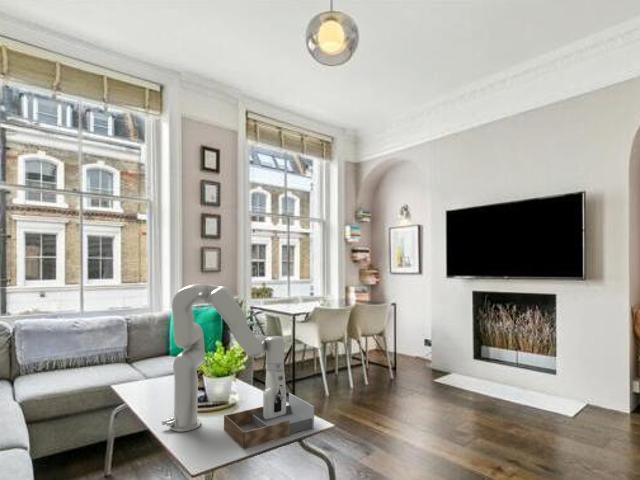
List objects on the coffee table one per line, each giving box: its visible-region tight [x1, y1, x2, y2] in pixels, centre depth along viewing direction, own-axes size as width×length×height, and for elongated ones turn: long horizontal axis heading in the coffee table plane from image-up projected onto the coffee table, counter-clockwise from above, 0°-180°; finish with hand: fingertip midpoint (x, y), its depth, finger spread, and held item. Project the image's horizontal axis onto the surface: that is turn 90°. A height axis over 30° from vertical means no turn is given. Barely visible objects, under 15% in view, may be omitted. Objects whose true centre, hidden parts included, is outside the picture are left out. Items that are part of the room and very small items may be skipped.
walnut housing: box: [223, 406, 291, 450], centre depth 166 cm, size 20×20×6 cm
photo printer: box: [262, 388, 287, 419], centre depth 171 cm, size 10×4×12 cm, turn 129°
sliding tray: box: [250, 392, 315, 435], centre depth 173 cm, size 20×20×9 cm
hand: (274, 409), depth 171 cm, fingers closed on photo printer, 4 cm apart
